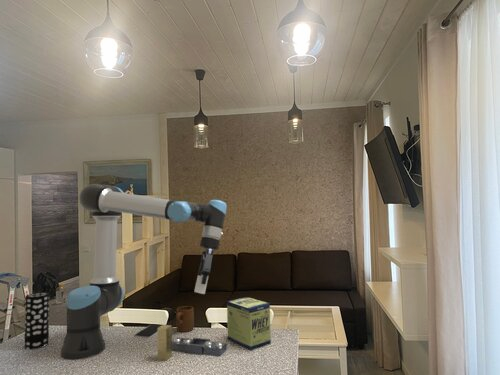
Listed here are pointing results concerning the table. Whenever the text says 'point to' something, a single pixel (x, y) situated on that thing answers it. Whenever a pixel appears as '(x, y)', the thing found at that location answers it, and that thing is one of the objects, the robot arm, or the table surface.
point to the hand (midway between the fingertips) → (199, 293)
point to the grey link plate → (199, 346)
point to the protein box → (248, 322)
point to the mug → (185, 319)
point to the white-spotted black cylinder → (36, 320)
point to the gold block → (164, 342)
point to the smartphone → (148, 331)
